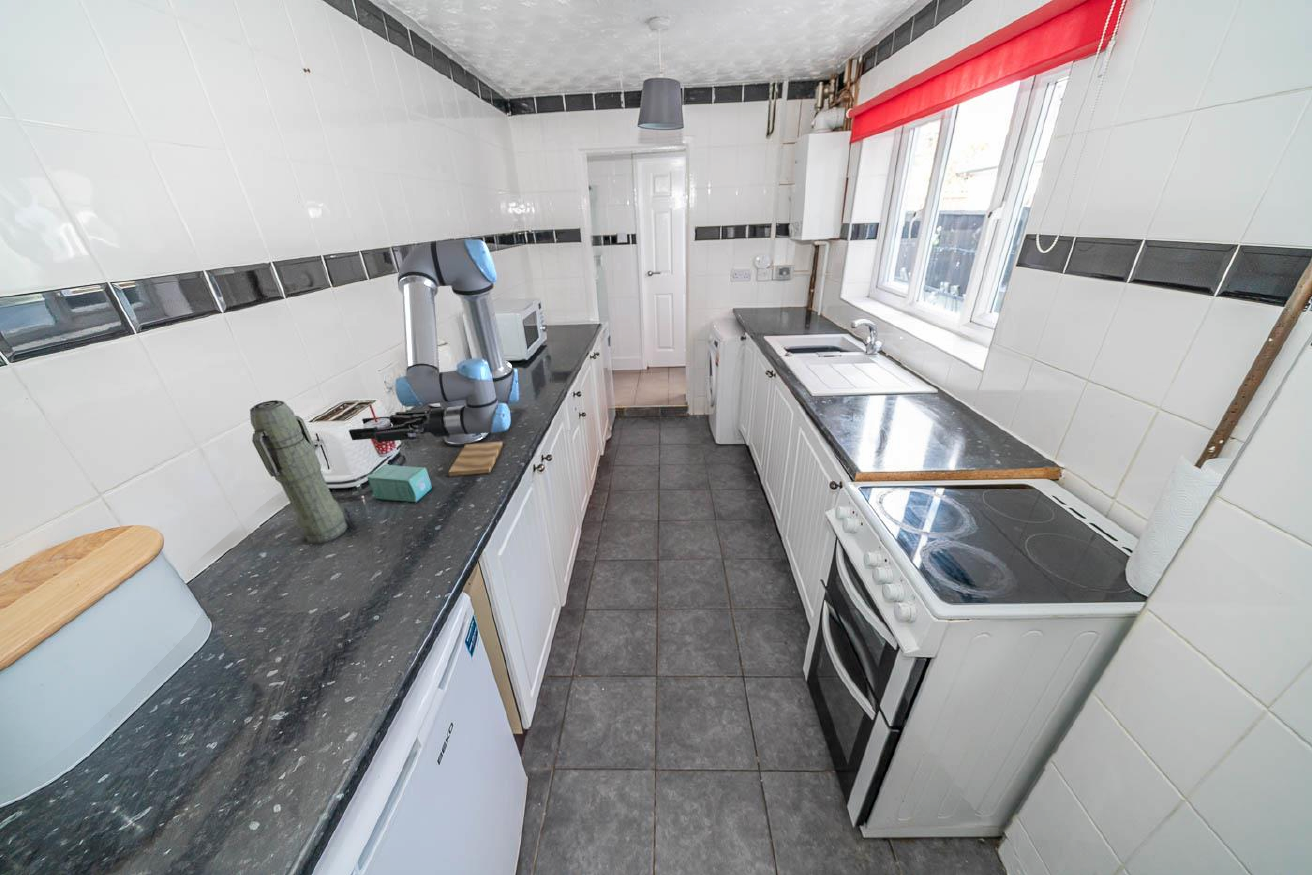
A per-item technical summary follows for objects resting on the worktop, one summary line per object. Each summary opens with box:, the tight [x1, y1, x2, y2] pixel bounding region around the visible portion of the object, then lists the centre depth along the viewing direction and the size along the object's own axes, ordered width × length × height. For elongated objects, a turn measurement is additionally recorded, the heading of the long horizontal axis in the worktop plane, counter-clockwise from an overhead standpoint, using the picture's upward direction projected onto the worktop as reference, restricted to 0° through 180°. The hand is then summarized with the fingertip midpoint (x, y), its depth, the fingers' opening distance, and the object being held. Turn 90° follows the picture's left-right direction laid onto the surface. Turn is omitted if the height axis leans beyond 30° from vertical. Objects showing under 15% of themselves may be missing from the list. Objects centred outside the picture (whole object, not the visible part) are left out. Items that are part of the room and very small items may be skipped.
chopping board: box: [448, 441, 503, 477], centre depth 144 cm, size 18×12×2 cm, turn 5°
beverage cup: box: [363, 404, 398, 458], centre depth 118 cm, size 6×6×14 cm
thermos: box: [249, 399, 348, 545], centre depth 106 cm, size 9×12×35 cm
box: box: [366, 464, 432, 503], centre depth 127 cm, size 7×14×8 cm, turn 79°
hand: (358, 429), depth 118 cm, fingers closed on beverage cup, 6 cm apart
